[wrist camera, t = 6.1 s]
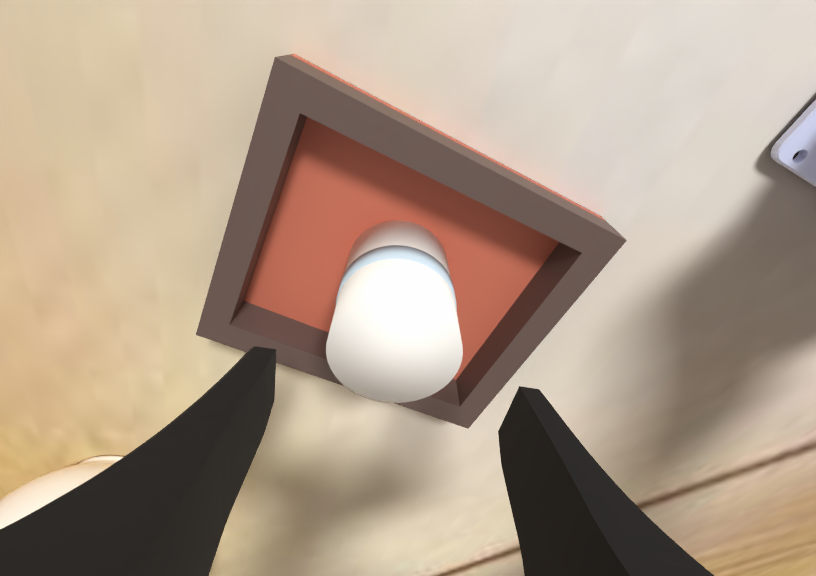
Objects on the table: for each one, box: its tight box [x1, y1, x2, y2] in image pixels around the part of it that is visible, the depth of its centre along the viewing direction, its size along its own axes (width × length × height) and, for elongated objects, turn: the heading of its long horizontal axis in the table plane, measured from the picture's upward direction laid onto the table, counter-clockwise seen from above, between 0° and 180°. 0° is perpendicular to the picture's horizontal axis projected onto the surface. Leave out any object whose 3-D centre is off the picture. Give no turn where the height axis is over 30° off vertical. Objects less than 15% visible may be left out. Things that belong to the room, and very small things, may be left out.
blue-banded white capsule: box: [326, 220, 463, 403], centre depth 16 cm, size 5×5×6 cm
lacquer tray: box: [196, 54, 626, 428], centre depth 18 cm, size 14×12×2 cm
